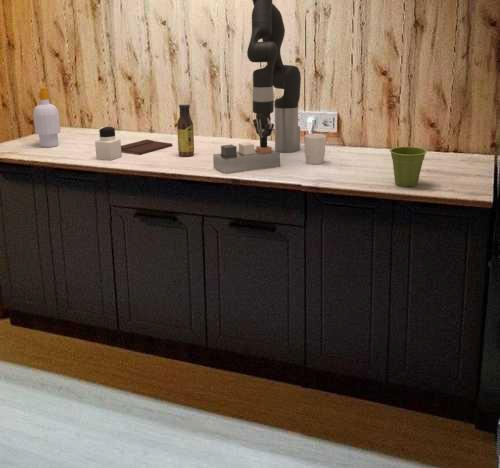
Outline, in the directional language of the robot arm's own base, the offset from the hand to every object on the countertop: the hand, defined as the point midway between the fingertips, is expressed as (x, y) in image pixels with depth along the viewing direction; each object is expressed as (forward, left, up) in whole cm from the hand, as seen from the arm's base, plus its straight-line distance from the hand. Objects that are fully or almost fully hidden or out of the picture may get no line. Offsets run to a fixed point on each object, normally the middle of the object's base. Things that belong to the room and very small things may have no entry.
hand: (263, 147), depth 267 cm
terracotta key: (0, 0, -4) cm, 4 cm away
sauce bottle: (+19, -30, -7) cm, 36 cm away
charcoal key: (+14, 0, -2) cm, 14 cm away
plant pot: (-28, +48, -7) cm, 56 cm away
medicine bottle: (+47, -41, -7) cm, 63 cm away
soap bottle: (+63, -77, -7) cm, 100 cm away
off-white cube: (+7, 0, -2) cm, 7 cm away
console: (+7, 0, -7) cm, 10 cm away
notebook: (+30, -51, -7) cm, 60 cm away
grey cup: (-18, +6, -7) cm, 20 cm away
